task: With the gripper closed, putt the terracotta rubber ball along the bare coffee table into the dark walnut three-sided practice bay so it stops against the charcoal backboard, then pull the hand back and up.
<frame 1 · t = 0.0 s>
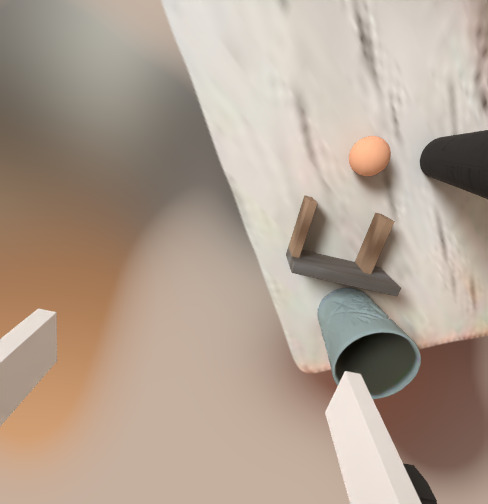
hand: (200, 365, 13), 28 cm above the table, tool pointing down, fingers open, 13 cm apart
ball: (369, 156, 34), point 2 cm above the table
blue-grey embossed pot: (344, 309, 45), on the table
drinking cup: (438, 157, 36), on the table
practice bay: (333, 232, 40), on the table
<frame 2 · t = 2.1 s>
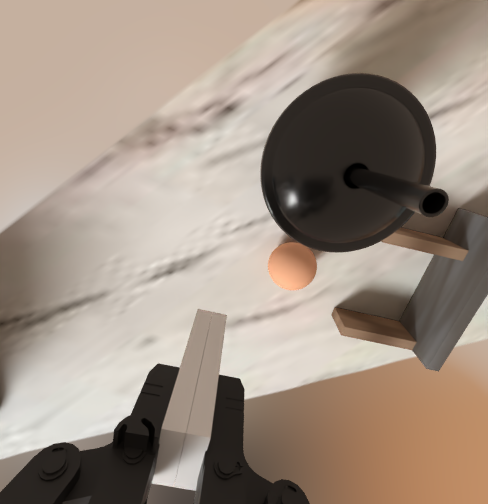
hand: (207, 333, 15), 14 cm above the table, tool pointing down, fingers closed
ball: (292, 266, 27), point 2 cm above the table
drinking cup: (297, 155, 25), on the table
practice bay: (386, 279, 30), on the table
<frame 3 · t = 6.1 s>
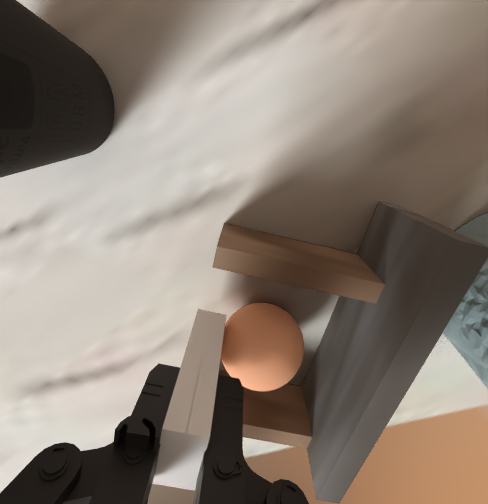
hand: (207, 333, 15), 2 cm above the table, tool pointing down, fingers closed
ball: (261, 345, 15), point 2 cm above the table, tilted 128°, touching gripper
drinking cup: (64, 100, 13), on the table
practice bay: (269, 322, 17), on the table
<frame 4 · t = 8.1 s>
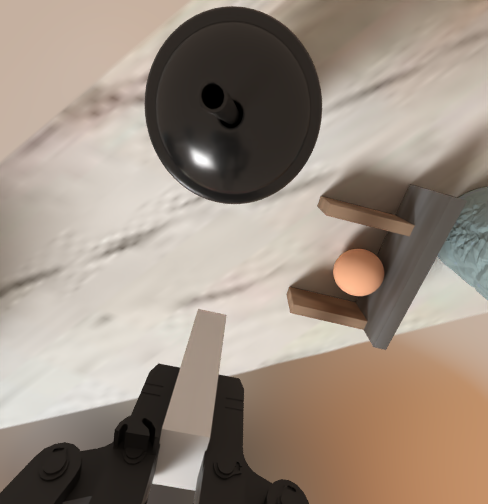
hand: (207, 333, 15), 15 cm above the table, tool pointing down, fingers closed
ball: (358, 272, 27), point 2 cm above the table, tilted 171°
blue-grey embossed pot: (473, 229, 28), on the table
drinking cup: (243, 127, 25), on the table
practice bay: (340, 257, 29), on the table
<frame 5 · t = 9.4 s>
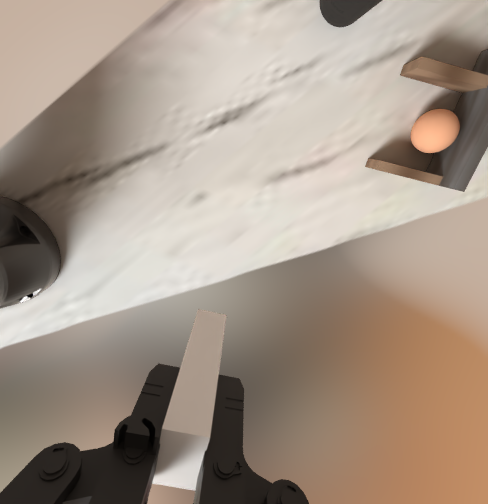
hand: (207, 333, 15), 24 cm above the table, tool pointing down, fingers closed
ball: (434, 131, 32), point 2 cm above the table, tilted 168°
practice bay: (415, 127, 33), on the table
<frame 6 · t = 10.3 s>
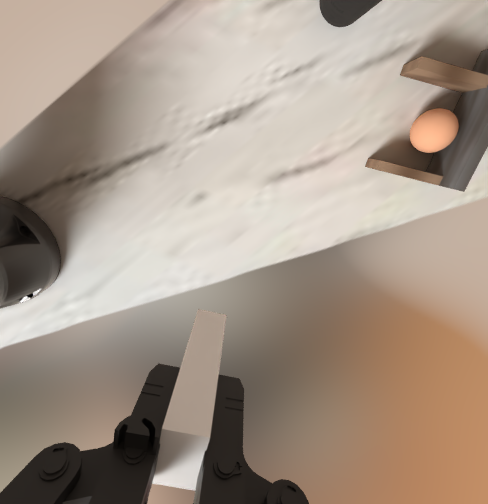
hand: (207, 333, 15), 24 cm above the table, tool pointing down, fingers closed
ball: (433, 131, 32), point 2 cm above the table, tilted 165°
practice bay: (415, 127, 33), on the table
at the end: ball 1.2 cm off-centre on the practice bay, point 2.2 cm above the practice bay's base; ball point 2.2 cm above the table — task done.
